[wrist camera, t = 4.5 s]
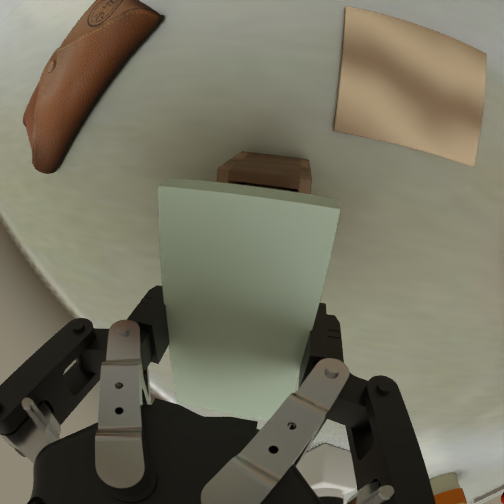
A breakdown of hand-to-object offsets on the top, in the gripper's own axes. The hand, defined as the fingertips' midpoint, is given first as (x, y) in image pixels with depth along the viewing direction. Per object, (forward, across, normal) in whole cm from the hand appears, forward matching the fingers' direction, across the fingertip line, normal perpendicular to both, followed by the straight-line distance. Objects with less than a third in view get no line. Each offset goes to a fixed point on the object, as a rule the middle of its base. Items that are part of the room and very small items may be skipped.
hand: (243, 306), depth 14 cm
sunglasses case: (+12, +18, -12) cm, 25 cm away
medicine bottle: (+11, -14, +37) cm, 41 cm away
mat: (+11, -10, -13) cm, 20 cm away
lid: (-1, 0, 0) cm, 1 cm away
